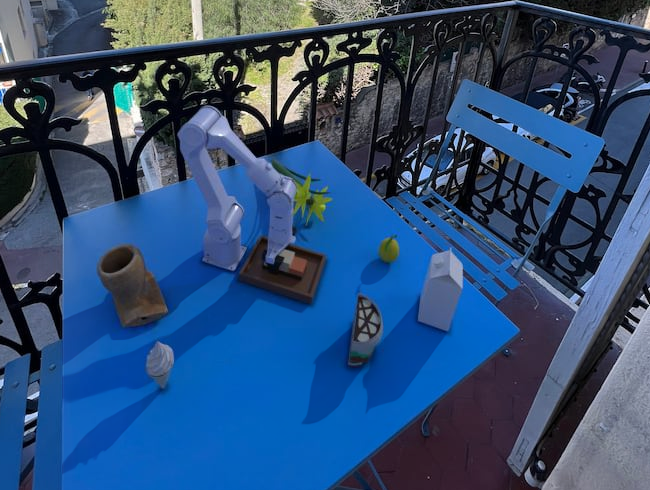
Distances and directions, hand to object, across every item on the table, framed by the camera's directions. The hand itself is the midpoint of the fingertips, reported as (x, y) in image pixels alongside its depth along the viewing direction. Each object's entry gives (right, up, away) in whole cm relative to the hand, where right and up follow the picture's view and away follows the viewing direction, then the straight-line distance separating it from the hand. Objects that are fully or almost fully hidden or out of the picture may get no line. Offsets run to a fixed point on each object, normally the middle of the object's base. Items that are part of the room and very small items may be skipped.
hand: (278, 261), depth 106 cm
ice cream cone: (-21, -14, -26) cm, 36 cm away
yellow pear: (+30, -3, +6) cm, 31 cm away
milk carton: (+39, -10, -7) cm, 41 cm away
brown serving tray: (+1, -3, +1) cm, 3 cm away
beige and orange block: (+1, -2, 0) cm, 2 cm away
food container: (+20, -12, -16) cm, 29 cm away
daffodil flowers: (+1, +8, +25) cm, 26 cm away
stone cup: (-33, -6, -11) cm, 36 cm away
